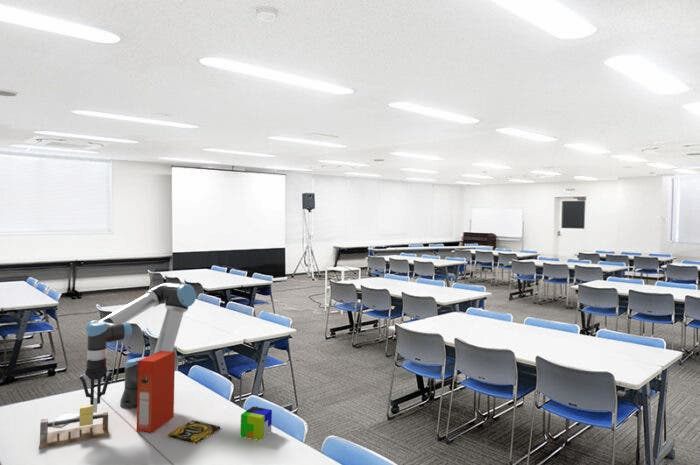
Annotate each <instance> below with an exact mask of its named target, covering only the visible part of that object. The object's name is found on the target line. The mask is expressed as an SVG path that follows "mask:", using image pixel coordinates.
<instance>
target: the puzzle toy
mask: <svg viewBox="0 0 700 465" xmlns="http://www.w3.org/2000/svg"><path fill="white" fill-rule="evenodd" d="M272 414H273V410H272V409H269V408H266V407H265V408H264V407H258V406H252V407H250V408H248V409H247V410H245V411H244V412H243V413H241V414H240V431H239V433H240V435H239V436H241V437H240V438H244V437H246V438H245V439H248V438H251V439H250V440H253V439H257V440H256V441H258V440H261V439H262V438H263V437H264V436H265V437H267V434H268V433H269V432H270V433H271V432H272V421H273V417H272V416H273V415H272ZM270 433H269V434H270ZM269 434H268V435H269ZM265 437H264V438H265ZM264 438H263V439H264ZM263 439H262V440H263ZM262 440H261V441H262Z"/></svg>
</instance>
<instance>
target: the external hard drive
mask: <svg viewBox="0 0 700 465" xmlns="http://www.w3.org/2000/svg"><path fill="white" fill-rule="evenodd" d="M79 417H80V413H71V412H70V413H69V412H67V413H65V414H62V415H60V416H59V417H56V418H55V419H53V420H51V421H50V422H52V421H54V420H55V421H60V420H66V419H72V418H79ZM67 425H68V424H63V425H57V426H54V427H52V426H51V427H52V428H63V427H65V426H67ZM51 427H50V428H51Z"/></svg>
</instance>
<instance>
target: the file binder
mask: <svg viewBox="0 0 700 465" xmlns="http://www.w3.org/2000/svg"><path fill="white" fill-rule="evenodd" d="M145 357H146V358H143V359H141V360H139V361H138V383H137V408H136V432H137V433H148V434H153V433H154V432H156V431H157V430H158V429H159V428H161V427H163V426H164V425H165V424H166V423H167V422H169V421H171V420H172V419H173V418H174V417H175V416H174V415H175V411H174V410H175V409H174V408H175V376H176V375H175V370H176V369H175V368H176V366H175V365H176V363H175V362H176V352H175V351H172V352H171V351H159V352H157V353H155V354H154V353H153V354H150V355H148V356H145Z"/></svg>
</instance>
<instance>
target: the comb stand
mask: <svg viewBox="0 0 700 465" xmlns="http://www.w3.org/2000/svg"><path fill="white" fill-rule="evenodd" d="M98 419H102V423H98V424H91V425H85V426H78V427H75V428H68V429H62V430H58V431H57V430H56V431H51V432H49V431H48V430H49V428H51V426H52V428H55V427H54V426H57V425H63V424H67V425H69V424H75V423H80V417H79V418H72V419H66V420H60V421H55V419H53V420H54V421H53V420H51V421H52V422H51V421H49V418H48V417H47V418H41V419H40V424H39V426H40V427H39V429H40V430H39V444H38V449H44V448H50V447H55V446H61V445H65V444H67V445H68V444H72V443H76V442H82V441H87V440H93V439H98V438H104V437H108V436H109V412H108V411H107V412H103V413H98V414H93V420H98Z"/></svg>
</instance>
